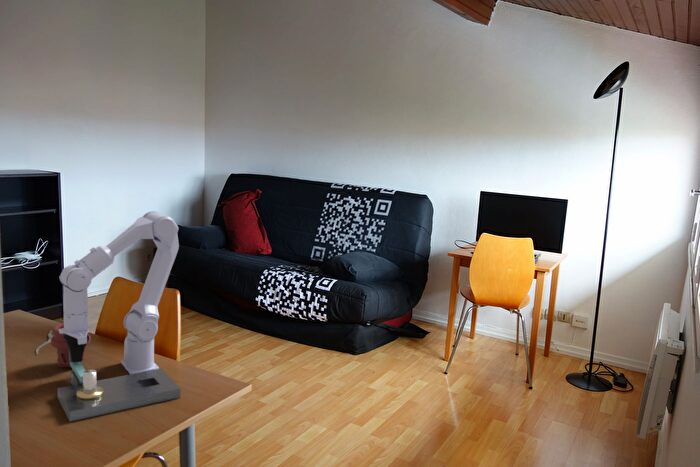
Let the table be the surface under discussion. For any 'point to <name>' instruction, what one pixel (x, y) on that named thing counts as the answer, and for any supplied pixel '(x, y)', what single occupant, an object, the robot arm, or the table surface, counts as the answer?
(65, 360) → the mechanical component
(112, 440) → the table surface
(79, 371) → the locking bolt
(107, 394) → the block
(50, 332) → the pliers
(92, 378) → the gold disc with post
